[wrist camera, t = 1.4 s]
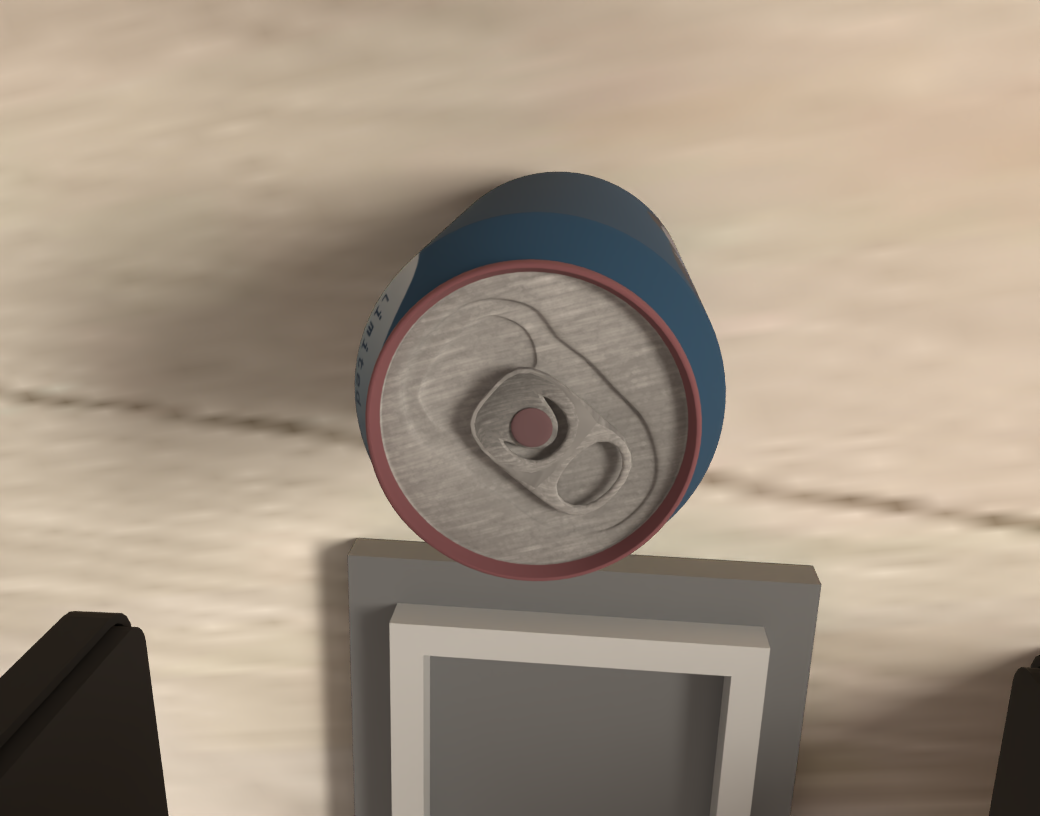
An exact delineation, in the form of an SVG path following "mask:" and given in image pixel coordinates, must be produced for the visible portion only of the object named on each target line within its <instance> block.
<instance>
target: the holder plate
mask: <svg viewBox="0 0 1040 816" xmlns="http://www.w3.org/2000/svg"><path fill="white" fill-rule="evenodd" d="M348 586H349V622H350V659H351V696H352V733H353V770H354V806H355V816H790V812H791V805H792V797H793V790H794V783H795V775H796V768H797V760H798V753H799V746H800V738H801V731H802V724H803V716H804V709H805V701H806V694H807V687H808V679H809V672H810V664H811V657H812V650H813V642H814V635H815V628H816V620H817V613H818V605H819V598H820V591H821V583H820V581H819V578H818V576H817V574H816V572H815V569H814V567H813V566H805V565H789V564H772V563H756V562H740V561H723V560H707V559H690V558H674V557H658V556H641V555H628V556H627V557H625V558H623V559H621V560H619V561H618V562H616V563H614V564H612V565H609V566H607V567H605V568H603V569H600V570H597V571H595V572H592V573H588V574H585V575H582V576H577V577H573V578H568V579H561V580H553V581H521V580H513V579H506V578H501V577H496V576H492V575H489V574H485V573H482V572H479V571H477V570H474V569H471V568H469V567H466V566H464V565H462V564H460V563H458V562H456V561H454V560H452V559H450V558H448V557H447V556H445V555H444V554H442V553H440V552H439V551H437V550H436V549H434V548H433V547H432V546H430V545H429V544H428V543H426V542H411V541H395V540H379V539H362V538H357V539H356V541H355V543H354V545H353V546H352V548H351V550H350V552H349V554H348Z"/></svg>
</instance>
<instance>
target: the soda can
mask: <svg viewBox="0 0 1040 816" xmlns="http://www.w3.org/2000/svg"><path fill="white" fill-rule="evenodd" d="M725 397H726V386H725V373H724V366H723V360H722V356H721V352H720V347H719V344H718V341H717V338H716V335H715V332H714V329H713V327H712V325H711V322H710V320H709V318H708V316H707V313H706V311H705V309H704V307H703V305H702V303H701V300H700V298H699V296H698V294H697V292H696V289H695V287H694V285H693V283H692V281H691V279H690V276H689V274H688V272H687V270H686V268H685V265H684V263H683V261H682V259H681V257H680V255H679V252H678V250H677V248H676V246H675V244H674V242H673V240H672V238H671V236H670V235H669V233H668V231H667V230H666V228H665V227H664V225H663V224H662V223H661V222H660V220H659V219H658V218H657V217H656V216H655V214H654V213H653V212H652V211H651V210H650V209H649V208H648V207H647V206H646V205H645V204H643V203H642V202H641V201H640V200H639V199H637V198H636V197H635V196H633V195H632V194H630V193H629V192H627V191H625V190H624V189H622V188H620V187H619V186H616V185H614V184H612V183H610V182H608V181H605V180H602V179H600V178H596V177H593V176H589V175H584V174H579V173H571V172H545V173H537V174H532V175H528V176H524V177H521V178H517V179H514V180H512V181H509V182H507V183H505V184H503V185H500V186H498V187H497V188H495V189H493V190H491V191H490V192H488V193H487V194H485V195H484V196H482V197H481V198H480V199H478V200H477V201H476V202H475V203H474V204H472V205H471V206H470V207H469V208H468V209H467V210H466V211H465V212H464V213H462V214H461V215H460V216H459V217H458V218H457V219H456V220H455V221H454V222H452V223H451V224H450V225H449V226H448V227H447V228H446V229H445V230H444V231H442V232H441V233H440V234H439V235H438V236H437V237H436V238H435V239H434V240H432V241H431V242H430V243H429V244H428V245H427V246H426V247H425V248H424V249H422V250H421V251H420V252H419V253H418V254H417V255H416V256H415V257H414V258H413V259H411V260H410V261H409V262H408V263H407V264H406V265H405V266H404V267H403V268H402V269H401V270H400V272H399V273H398V274H397V275H396V276H395V277H394V278H393V280H392V281H391V282H390V284H389V285H388V286H387V288H386V289H385V290H384V292H383V294H382V295H381V297H380V298H379V300H378V302H377V303H376V305H375V307H374V309H373V311H372V313H371V315H370V317H369V320H368V322H367V325H366V327H365V330H364V333H363V336H362V339H361V343H360V347H359V351H358V356H357V363H356V371H355V402H356V412H357V417H358V423H359V427H360V431H361V435H362V439H363V441H364V444H365V447H366V450H367V453H368V455H369V458H370V460H371V462H372V465H373V468H374V471H375V474H376V476H377V479H378V481H379V483H380V486H381V488H382V490H383V492H384V494H385V495H386V497H387V499H388V501H389V502H390V504H391V505H392V507H393V508H394V510H395V511H396V512H397V514H398V515H399V516H400V518H401V519H402V520H403V521H404V522H405V523H406V524H407V525H408V527H409V528H410V529H411V530H413V531H414V532H415V533H416V534H417V535H418V536H419V537H420V538H421V539H423V540H424V541H425V542H426V543H428V544H429V545H430V546H432V547H433V548H434V549H436V550H437V551H439V552H440V553H442V554H444V555H445V556H447V557H448V558H450V559H452V560H454V561H456V562H458V563H460V564H462V565H464V566H466V567H469V568H471V569H474V570H477V571H479V572H482V573H485V574H489V575H492V576H496V577H501V578H506V579H513V580H521V581H553V580H561V579H568V578H573V577H577V576H582V575H585V574H588V573H592V572H595V571H597V570H600V569H603V568H605V567H607V566H609V565H612V564H614V563H616V562H618V561H619V560H621V559H623V558H625V557H627V556H628V555H630V554H631V553H633V552H634V551H636V550H637V549H638V548H640V547H641V546H642V545H644V544H645V543H646V542H647V541H648V540H650V539H651V538H652V537H653V536H654V535H655V534H656V533H657V532H658V531H659V530H660V529H661V528H662V527H663V525H664V524H665V523H666V522H667V521H668V520H669V519H671V518H672V517H673V516H674V515H675V514H676V513H677V512H678V511H679V509H680V508H681V507H682V506H683V505H684V504H685V503H686V502H687V500H688V499H689V498H690V496H691V495H692V494H693V492H694V491H695V489H696V488H697V486H698V485H699V483H700V482H701V480H702V478H703V477H704V475H705V473H706V471H707V469H708V467H709V465H710V463H711V460H712V458H713V456H714V453H715V450H716V448H717V445H718V441H719V438H720V434H721V430H722V425H723V419H724V412H725Z"/></svg>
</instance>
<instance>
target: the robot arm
mask: <svg viewBox="0 0 1040 816" xmlns="http://www.w3.org/2000/svg"><path fill="white" fill-rule="evenodd" d="M0 816H168V808H167V800H166V793H165V785H164V777H163V770H162V762H161V754H160V747H159V739H158V731H157V724H156V716H155V708H154V701H153V693H152V685H151V677H150V670H149V662H148V654H147V647H146V640H145V636H144V633H143V631H142V630H141V629H140V628H138V627H131V623H130V621H129V620H128V618H127V616H125V615H124V614H122V613H105V612H82V611H73V612H69V613H67V614H66V615H64V616H63V617H62V618H61V619H60V620H59V621H58V622H57V623H56V624H55V625H54V626H53V627H52V628H51V629H50V630H49V631H48V632H47V633H46V634H45V635H44V636H43V637H41V638H40V639H39V640H38V641H37V642H36V643H35V644H34V645H33V646H32V647H31V648H30V649H29V650H28V651H27V652H26V653H25V654H24V655H23V656H22V657H21V658H20V659H19V660H18V661H17V662H16V663H15V664H14V665H13V666H12V667H11V668H10V669H9V670H8V671H7V672H6V673H5V674H4V675H3V676H2V677H1V678H0ZM989 816H1040V655H1039V656H1037V657H1036V658H1035V659H1034V661H1033V663H1032V665H1031V668H1025V667H1021V668H1020V669H1018V670H1017V672H1016V673H1015V676H1014V679H1013V684H1012V689H1011V695H1010V700H1009V706H1008V712H1007V717H1006V723H1005V728H1004V734H1003V739H1002V745H1001V751H1000V756H999V762H998V767H997V773H996V779H995V784H994V790H993V795H992V801H991V807H990V812H989Z"/></svg>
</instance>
